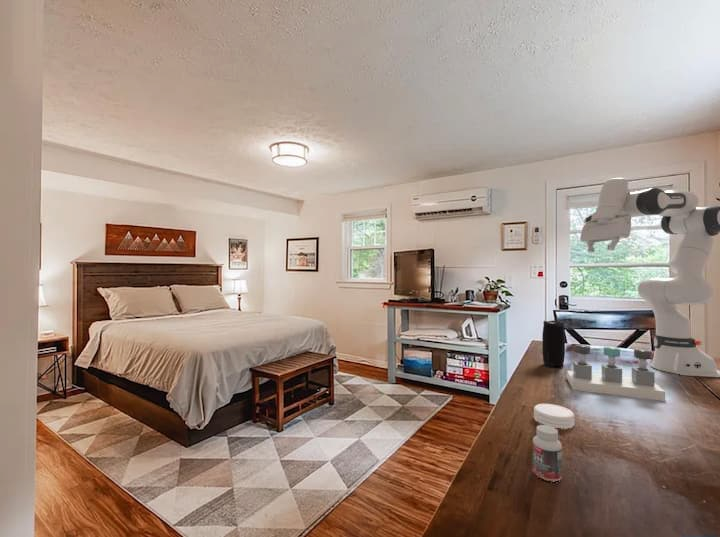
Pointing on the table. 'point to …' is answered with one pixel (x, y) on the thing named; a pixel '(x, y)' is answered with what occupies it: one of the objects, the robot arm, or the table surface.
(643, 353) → the near knob
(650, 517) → the table surface
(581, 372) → the mount panel
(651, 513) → the table surface
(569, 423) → the white jar lid
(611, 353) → the teal dial
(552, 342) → the portable speaker
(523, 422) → the table surface
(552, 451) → the pill bottle
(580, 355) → the far knob
